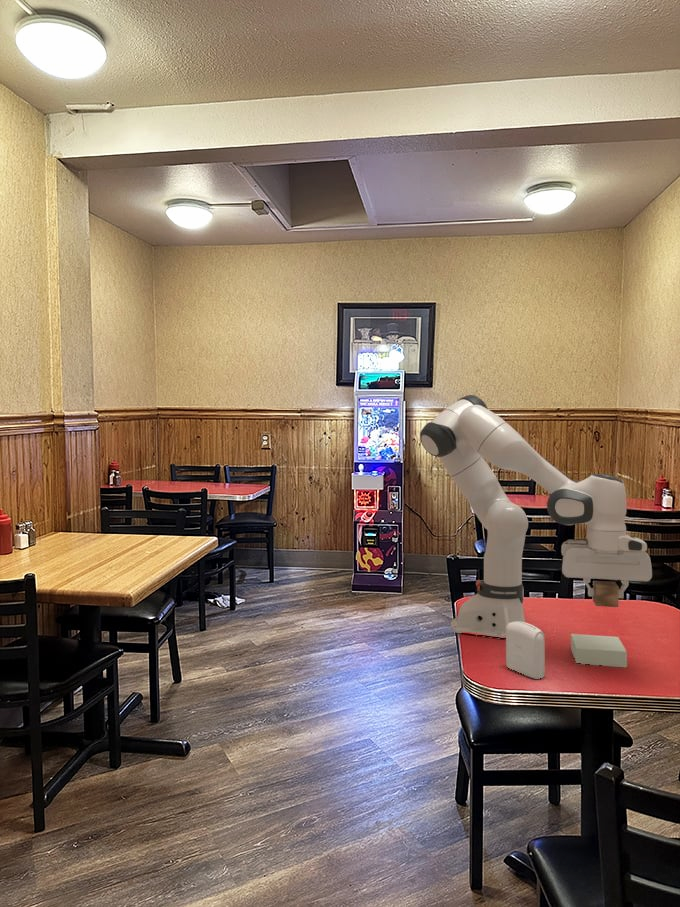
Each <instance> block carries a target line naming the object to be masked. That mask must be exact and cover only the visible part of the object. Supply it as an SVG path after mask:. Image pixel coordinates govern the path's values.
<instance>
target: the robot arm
mask: <svg viewBox="0 0 680 907" xmlns="http://www.w3.org/2000/svg"><path fill="white" fill-rule="evenodd" d="M419 439H420V443H421V445H422V447H423V448H424V450H426V452H427V454H429V455H431V456H433V457H435V458H439V459H440V461H441V463H442V466H444V469H445V470H446V472H447V474H448V475H449V476H450V478H451V479H452V481H453V483H454V484H455V485H456V486H457V488H458V489H459V491H460V492H461V493H462V495H463V497H464V498H465V499H466V501H467V503H468V504H469V506H470V508H471V510H472V511H473V513H474V514H475V515H476V517H477V519H478V521H479V522H480V523H481V525H482V526H483V528H484V529H486V530H487V538H486V546H485V552H484V554H483V581H482V580H480V579H477V580H476V581H475V586H476V592H477V593H476V594H475V595H473V596H471V597H470V598H468V599H467V600H466V601H464V602H463V603H462V604H461V606H460V608H459V611H458V614H457V617H455V618H453V619H452V620H451V622H450V629H451V630H452V632H453V633H455V634H461V633H462V632H471V633H478V634H484V635H490V636H497V637H506V627H507V625H508V624H509V623H511V622H516V621H520V622H526V620H525V616H524V615H525V614H524V609H523V605H524V604H523V603H524V594H525V593H524V585H523V580H522V579H523V575H522V574H523V573H522V572H523V569H522V568H523V567H522V566H523V562H522V561H523V553H524V552H523V551H524V547H525V542H526V541H525V540H526V534H527V533H526V532H527V531H528V528H529V519H528V517H527V515H526V512H525V511H524V509H523V508H522V507H520V506H519V505H518V504H517V503H515V502H514V503H513V502H512V501H511V500H510V499H509V497H508V496H507V494H506V492H505V491H504V489H503V487H502V486H501V484H500V482H499V480H498V478H497V476H496V474H495V473H494V471H493V470H492V469H491V467H490V466H489V464H491V465H493V466H495V467H497V468H498V469H501V470H507V471H512V472H516V473H519V474H522V475H525V476H527V477H528V478H531V480H533V481H534V482H536V483H537V485H539V486H540V487H541V488H542V489H544V490H545V491H546V492H548V493H549V494H550V495H549V496H548V498H547V502H546V510H547V512H548V515H549V517H550V518H551V519H552V520H553V521H554V522H556V523H557V524H560V525H563V526H573V525H577V524H578V525H579V524H585V525H586V539H571V538H570V539H567V540H565V541H564V542H562V544H561V547H560V548H561V549H560V553H561V556H562V557H563V558H562V565H561V571H562V572H561V573H562V574H563V575H564V577H566V578H573V579H574V578H575V579H577V578H578V579H583V580H582V581H583V583H584V584H585V587H586V589H587V596H588V597H592V598H593V597H595V589H594V588H593V587H591V585H590V584H589V583H591V580H592V579H593V580H594V579H595V580H597V579H598V580H616V581H620V582H621V586H620V588H619V598H618V599H624V597H625V596H624V594H625V593H624V592H625V591H626V589H627V588H628V587H629V585H630V583H629V582H630V581H632V582H633V581H634V582H649V581H650V580H651V579H652V578H653V568H652V562H651V561H652V560H651V557H650V555H649V554H648V553H647V552H646V551H647V549H648V544H647V542H645V541H644V540H643V539H641V538H638V537H636V536H634V535H630V534H627V525H626V523H625V521H626V520H625V519H626V515H627V511H628V510H627V491H626V486H625V484H624V483H625V482H623V481H622V479H621V478H619V477H617V476H614V475H611V474H605V473H592V474H591V475H590V476H588V477H587V478H585V479H582V480H580V481H577V480H574V479H572V478H571V477H568V476H567V475H566V474H565V473H563V472H562V471H561V470H560V469H559V468H557V467H556V466H555V465H553V464H552V463H550V462H549V461H548V460H547V459H546V458H544V457H543V456H542V455H541V454H539V453H538V451H537V450H536V449H534V447H532V445H531V444H529V443H528V442H527V440H526V439H525V438H524V437H523V436H522V435H521V434H520V433H519V432H518V431H517V430H515V429H514V428H513V427H512V425H510V424H509V423H508V422H506V421H505V419H503V418H501V417H500V416H499V415H497V414H496V413H494V412H493V411H492V410H490V409H489V408H488V405H487V404H486V402H484V401H483V400H482V398H480V397H478V396H476V395H474V394H469V395H468V394H467V395H465V396H463V397H461V398H459V399H458V400H457V401H456V402H453V403H452V404H450V405H449V406H447V407H446V408H444V409H443V410H442V411H441V412H440V413H439V414H437V415H436V416H435V417H434V418H433V419H432V420H431V421H430V422H427V423H426V424H425V425H424V426H423V428H422V429H421V430H420V433H419ZM487 462H488V463H489V464H488V463H487Z"/></svg>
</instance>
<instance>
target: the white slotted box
mask: <svg viewBox="0 0 680 907" xmlns="http://www.w3.org/2000/svg"><path fill="white" fill-rule="evenodd" d="M545 638H546V637H545V633H544V632H543V631H542V630H541V629H540V628H538V627H537V626H535V625H533V624H531V623H529V622H526V621H525V622H520V621H516V622H511V623H509V624H508V625H507V627H506V639H505V665H506V666H507V667H508V668H510V669H509V670H511V669H512V670H511V671H513V670H515V671H517V672H516V673H518V672H519V673H518V674H520V673H522V674H521V675H523V674H524V675H523V676H526V677H528V678H531V679H535V680H541V679H543V678H544V677H545V674H546V673H545V672H546V669H545V668H546V667H545V666H546V663H545V661H546V659H545V658H546V657H545V656H546V654H545V651H546V650H545V647H546V645H545ZM507 667H506V668H507ZM508 668H507V669H508ZM515 671H514V672H515ZM540 678H541V679H540Z"/></svg>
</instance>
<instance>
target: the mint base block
mask: <svg viewBox="0 0 680 907" xmlns="http://www.w3.org/2000/svg"><path fill="white" fill-rule="evenodd" d="M570 649H571V654H572V656H573V659H574V658H575V659H574V662H575V661H576V662H575V664H576V663H581V664H580V665H585V664H590V665H589V666H599V665H602V666H601V667H612V668H613V667H614V668H615V667H616V668H625V669H626V668H627V667H628V652H627V649H626V648H625V646H624V644H623V643H622V641H621V640H620V637H619V636H611V635H610V636H608V635H596V634H595V635H594V634H579V633H570Z"/></svg>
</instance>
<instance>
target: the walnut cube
mask: <svg viewBox="0 0 680 907" xmlns="http://www.w3.org/2000/svg"><path fill="white" fill-rule="evenodd" d="M592 583H593V584H592V588H594V589H595V597H592V602H593V603H594V605H595V606H596V607H604V608H606V607H607V608H609V607H610V608H611V607H612V608H619V599H620V598H619V589H620V588H619V586H618V584H617V583H616V582H615V581H604V580H603V581H602V580H593V581H592Z"/></svg>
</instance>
